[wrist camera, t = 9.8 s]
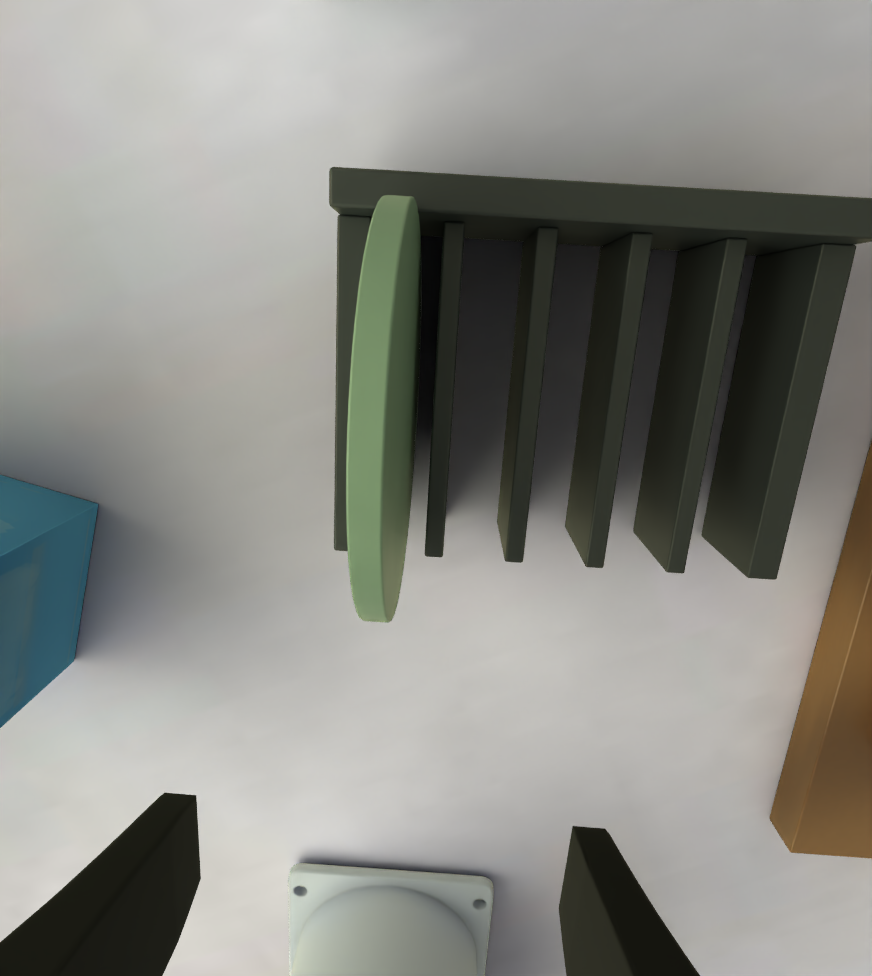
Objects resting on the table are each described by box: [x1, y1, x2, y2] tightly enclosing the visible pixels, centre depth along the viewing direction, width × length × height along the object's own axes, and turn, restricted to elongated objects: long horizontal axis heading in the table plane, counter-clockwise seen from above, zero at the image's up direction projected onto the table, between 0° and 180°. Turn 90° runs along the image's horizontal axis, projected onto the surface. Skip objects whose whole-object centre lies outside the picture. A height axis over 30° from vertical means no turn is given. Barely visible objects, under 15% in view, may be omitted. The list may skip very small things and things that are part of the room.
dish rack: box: [329, 167, 872, 623], centre depth 14 cm, size 10×12×9 cm
